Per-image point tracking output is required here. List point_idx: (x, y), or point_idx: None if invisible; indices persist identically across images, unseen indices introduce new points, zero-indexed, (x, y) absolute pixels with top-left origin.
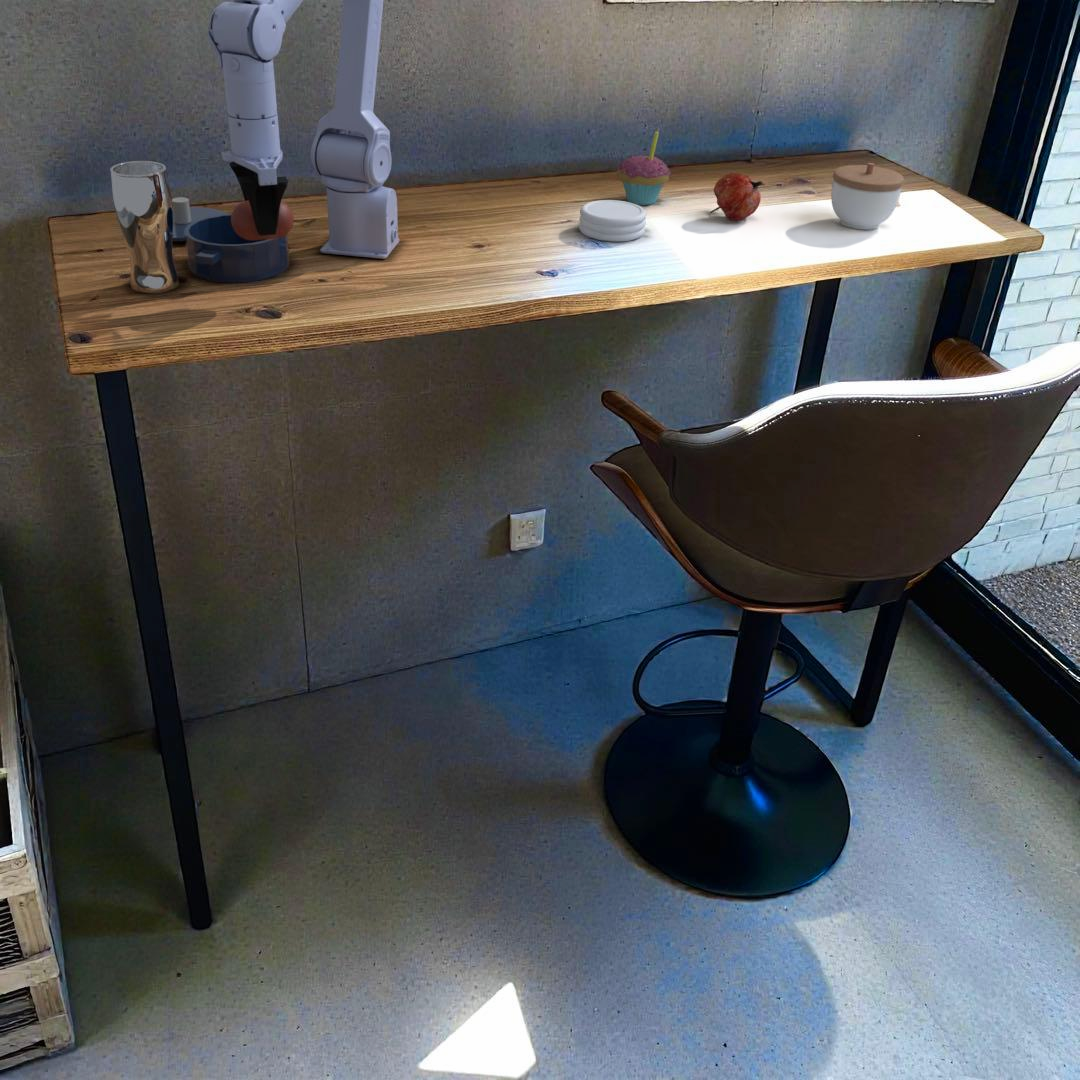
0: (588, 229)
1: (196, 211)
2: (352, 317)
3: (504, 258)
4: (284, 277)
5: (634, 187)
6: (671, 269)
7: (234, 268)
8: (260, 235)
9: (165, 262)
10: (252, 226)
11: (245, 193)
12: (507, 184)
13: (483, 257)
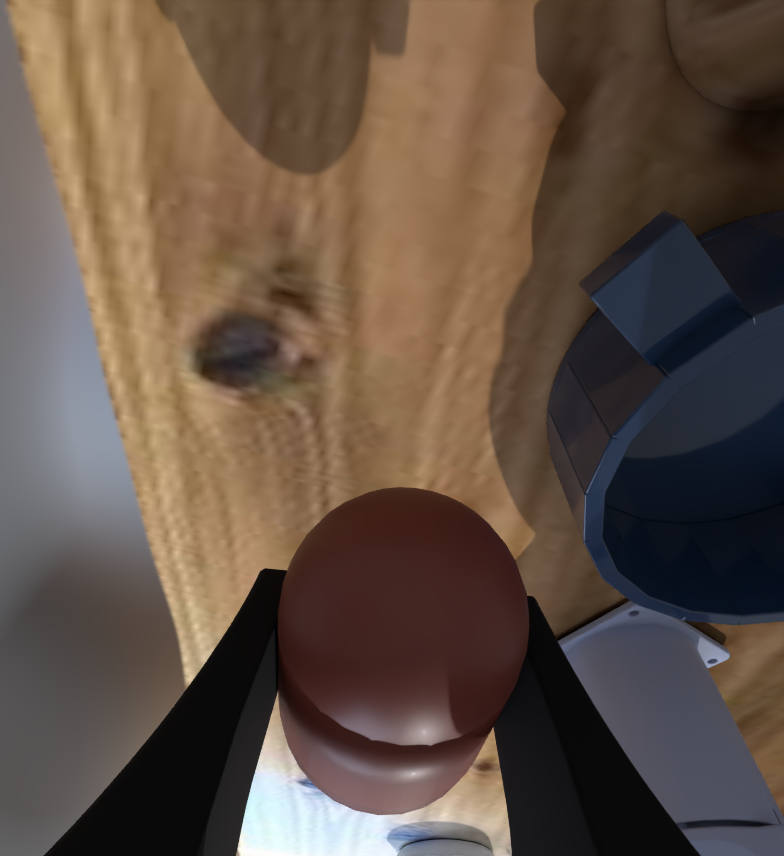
0: (441, 853)
1: None
2: (170, 526)
3: None
4: (531, 478)
5: None
6: (280, 845)
7: (591, 366)
8: (261, 572)
9: (773, 2)
10: (281, 591)
11: (564, 772)
12: None
13: None
